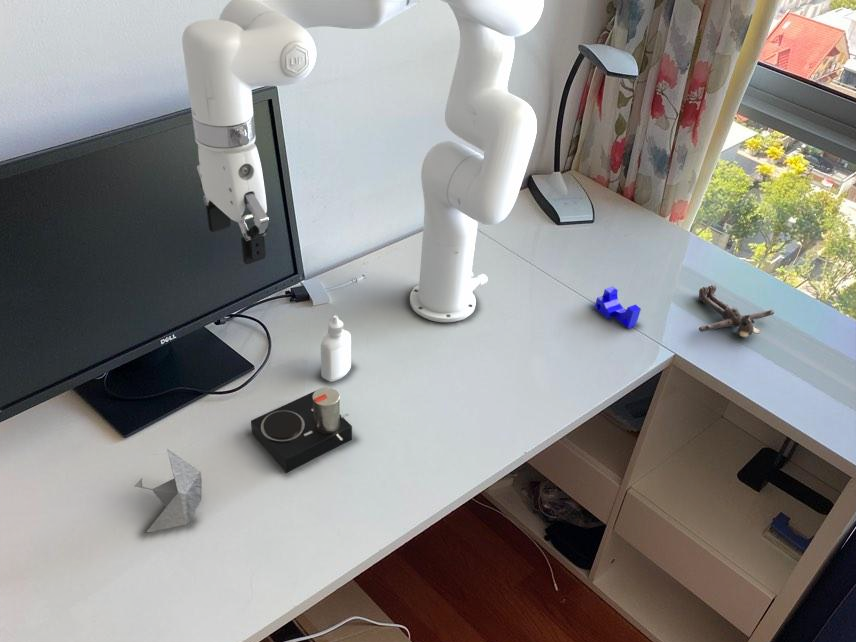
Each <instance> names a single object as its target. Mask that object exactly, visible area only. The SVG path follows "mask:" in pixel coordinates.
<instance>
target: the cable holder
mask: <svg viewBox="0 0 856 642" xmlns="http://www.w3.org/2000/svg"><path fill="white" fill-rule="evenodd" d="M618 291H619V290H618V289H617V288H616V287H615V286H610V287H606V288H604V291H603V294H602V295H600V296H598V297H596V301H595V304H594V309H595V310H596V311H597V312H599V313H600V314H601V315H602V316H603V317H605V318H606V319H607V320H610V319H613V318H614V319H615V320H617V322H619V323H620V324H622V326H624V327H625V328H627V329H631V328H633V327H637V323H638V319H639V316H640V313H641V311H642V308H641V307H640V306H638V305H637V304H633V305H630V306H627V308H624V307H623V305H622V304H621V303H620V301H619V297H618Z"/></svg>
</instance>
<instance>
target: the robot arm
mask: <svg viewBox="0 0 856 642" xmlns="http://www.w3.org/2000/svg"><path fill="white" fill-rule="evenodd" d="M422 1H424V0H230V1H229V2H228V3H227V4H226V5H225V6H224V8H223V9H222V11H221V13H220V15H219V18H218V19H216V18H215V19H214V18H213V19H212V18H211V19H203V20H202V19H201V20H198V21H195V22H192V23H190V24H189V25H187V26H186V27H185V29H184V30H183V33H182V38H181V41H182V42H181V43H182V51H183V58H184V66H185V73H186V81H187V87H188V96H189V103H190V109H191V117H192V125H193V132H194V133H193V134H194V141H195V144H197V153H198V164H197V166H196V170H197V172H198V175H199V178H200V188H201V189H202V192H203V194H204V195H203V202H204V204H205V210H206V218H207V224H208V230H209V231H210V232H211V233H215V232H218V231H222V230H225V229H228V228H230V227H231V222H232V221H234V222H235V223H237V224H238V226H239V229H240V232H241V233H242V236H243V237H241V238H240V242H241V251H242V261H243V263H244V264H245V265H250V264H253V263H256V262H259V261H262V260H264V259H266V257H267V254H266V242H265V236H266V235H267V232H268V229H269V228H268V226H269V222H270V219H269V217H268V215H267V212H268V206H267V196H266V188H265V182H264V176H263V169H262V163H261V159H260V155H259V151H258V148H257V145H256V143H255V142H256V129H255V128H256V127H255V117H254V104H253V103H254V102H253V88H255V87H256V88H257V87H280V86H281V87H283V86H289V85H290V86H291V85H294V84H297V83H299V82H301V81H303V80H304V79H306V77H308V76H309V75H310V73H311V72H312V71H313V69H314V67H315V64H316V63H317V62H316V61H317V46H316V43H315V41H314V39H313V37H312V36H311V34H310V33H309V32H308V31H307V29H309V28H317V27H318V28H320V27H328V28H329V27H330V28H340V29H346V30H347V29H350V30H368V29H375V28H378V27H380V26H382V25H383V24H385V23H386V22H388V21H389V20H390V21H391V20H392V19H394V18H395V17H397V16H398V15H400V14H402V13H403V12H405V11H407V10H409V9H410V8H412V7H414V6H415V5H418V4H419V3H421V2H422ZM441 2H444V3H446V4H447V5H448V6H449V7H450V9H451V11H452V12H453V13H452V14H453V15H454V17H455V20H456V22H457V26H458V32H459V49H458V54H457V59H456V63H455V67H454V72H453V75H452V80H451V84H450V87H449V92H448V96H447V100H446V104H445V109H444V110H445V112H444V121H445V125H446V127H447V128H448V130H449V131H450V132H451V133H452V134H453V135H455V136H456V137H458V138H459V139H461V140H463V141H465V142H466V143H467V144H470V145H472V146H474V147H475V148H477V149H479V150H480V151H482V152H483V154H481V153H479V152H477V151H476V150H474V149H472V148H470V147H469V146H467V145H465V144H462V143H460V142H457V141H450V140H447V141H446V140H445V141H442V142H441V141H440V142H438V143H436V144H435V145H433V146H432V147H431V148H430V149H429V150H428V151H427V153H426V155H425V156H424V159H423V161H422V165H421V172H420V175H421V176H420V177H421V189H422V195H423V226H422V227H423V228H422V237H421V238H422V239H421V240H422V241H421V253H420V264H419V265H420V267H419V282H418V284H417V285H416V286H415V287H413V288H412V290H411V292H410V293H409V304H410V307H411V308H412V310H413V311H414V313H416V314H417V315H418V316H420V317H421V318H424V319H425V320H429V321H433V322H436V323H437V322H438V323H454V322H459V321H462V320H465V319H466V318H469V316H471V315H472V314H473V312H474V311H475V308H476V303H477V300H476V296H475V294H474V293H473V291H475V290H476V289H477V287H480V286H482V285H485V284H487V283H488V276H487V275H486V274H485V273H480V274H479V275H476V276H475V277H474V272H473V271H472V270H473V262H474V254H475V245H476V240H477V233H478V232H477V231H478V224H480V225H484V226H494V225H497V224H499V223H501V222H503V221H504V220H505V219H506V218H507V217H508V215H510V213H511V211H512V210H513V207H514V205H515V203H516V201H517V198H518V196H519V192H520V190H521V187H522V183H523V180H524V176H525V173H526V171H527V167H528V165H529V161H530V158H531V155H532V152H533V148H534V145H535V141H536V137H537V131H538V130H537V128H538V126H537V116H536V113H535V111H534V109H533V107H532V106H531V105H530V104H529V103H528V102H527V101H525V100H524V99H522V98H520V97H518V96H516V95H515V94H512V93H510V92H509V91H508V82H509V78H510V73H511V69H512V64H513V60H514V55H515V38H517V37H520V36H523V35H525V34H527V33H528V32H530V31H531V30H532V29H533V28H534V27H535V26H536V24H537V23H538V22H539V20H540V18H541V16H542V13H543V10H544V5H545V4H544V3H545V0H441ZM246 211H249V212H250V213H247V214H245V215H244V212H246ZM231 220H232V221H231ZM251 220H253V223H254V225H253V226H251V227H250V228H248V225H247V223H246V222H247V221H251Z"/></svg>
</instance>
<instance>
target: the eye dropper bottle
mask: <svg viewBox="0 0 856 642" xmlns="http://www.w3.org/2000/svg"><path fill="white" fill-rule="evenodd" d="M327 329H328V331H327V333H326V334H325V335H324V337H323V339H322V341H321V343H320V371H321V372H320V373H321V377H322V379H324V380H326V381H327V382H330V383H331V382H336V381H339V380H341V379H342V378H344V377H345V376H346V375H347V374H348V373H349V372H350V370H351V368H352V336H351V335H352V334H351V333H350V332H349V331H348V330H347V329H344V322H343V320H341V319H339V316H338V315H336V314H335V315H333V317H332V319H331V320H329V321H328V323H327Z"/></svg>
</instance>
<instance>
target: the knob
mask: <svg viewBox="0 0 856 642" xmlns="http://www.w3.org/2000/svg"><path fill="white" fill-rule="evenodd" d="M314 391H315V392H314ZM314 391H313V392H314V394H313V419H314V428H315V429H316V430H317V431H318V432H320V433H324V434H329V433H333V432H335V431H336V430H338V428H339V426H340V415H341V411H340V410H341V409H340V408H341V407H340V405H341V404H340V403H341V401H340V399H341V398H340V393H339V391H337V390H336V389H335V388H333V387H329V386H327V387H320V388H318V389H316V390H314Z"/></svg>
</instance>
